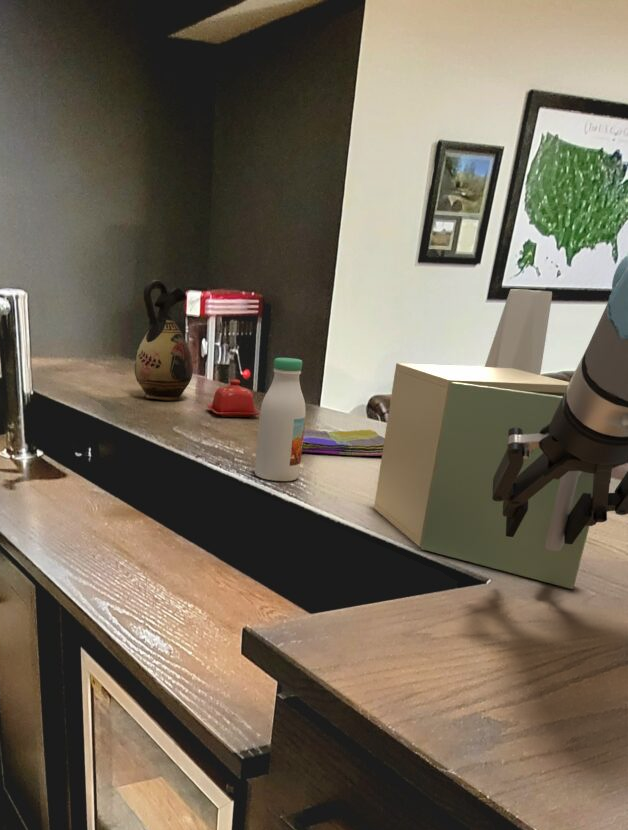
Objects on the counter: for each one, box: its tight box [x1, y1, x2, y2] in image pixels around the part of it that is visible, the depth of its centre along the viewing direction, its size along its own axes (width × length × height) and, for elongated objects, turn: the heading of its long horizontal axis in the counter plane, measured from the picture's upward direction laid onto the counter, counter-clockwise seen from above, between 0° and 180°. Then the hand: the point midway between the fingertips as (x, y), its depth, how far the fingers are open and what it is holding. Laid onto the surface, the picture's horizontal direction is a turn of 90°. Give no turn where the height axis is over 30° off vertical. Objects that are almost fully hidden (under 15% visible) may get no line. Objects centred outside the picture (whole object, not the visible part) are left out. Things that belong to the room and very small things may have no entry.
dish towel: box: [302, 428, 385, 457], centre depth 149 cm, size 18×24×3 cm
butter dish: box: [205, 378, 260, 418], centre depth 175 cm, size 12×12×8 cm
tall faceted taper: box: [484, 288, 553, 375], centre depth 129 cm, size 12×12×33 cm
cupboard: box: [373, 362, 570, 548], centre depth 101 cm, size 16×18×22 cm
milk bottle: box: [253, 357, 307, 482], centre depth 122 cm, size 8×8×20 cm
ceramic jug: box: [134, 279, 194, 401], centre depth 188 cm, size 17×15×30 cm
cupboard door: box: [420, 382, 594, 590], centre depth 84 cm, size 7×18×22 cm, turn 53°
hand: (538, 529), depth 80 cm, fingers open, 5 cm apart
